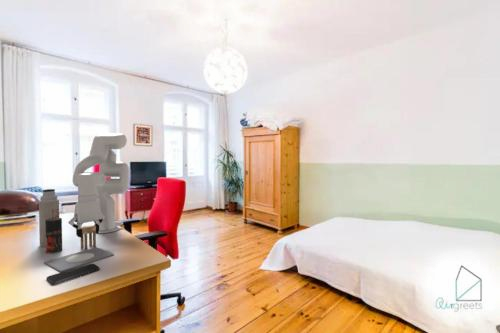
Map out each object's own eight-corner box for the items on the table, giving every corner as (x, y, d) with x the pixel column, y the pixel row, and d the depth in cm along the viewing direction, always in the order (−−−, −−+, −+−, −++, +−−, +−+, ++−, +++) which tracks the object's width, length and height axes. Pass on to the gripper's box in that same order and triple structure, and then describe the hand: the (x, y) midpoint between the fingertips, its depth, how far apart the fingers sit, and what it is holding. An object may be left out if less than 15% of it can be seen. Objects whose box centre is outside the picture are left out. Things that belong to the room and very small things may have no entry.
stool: (92, 244, 124) (91, 224, 123) (98, 246, 120) (98, 226, 120) (77, 248, 118) (77, 227, 118) (84, 250, 115) (83, 229, 115)
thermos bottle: (63, 242, 127) (62, 188, 127) (48, 247, 119) (47, 190, 119) (51, 241, 129) (50, 188, 128) (35, 246, 121) (34, 190, 120)
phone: (100, 268, 94) (52, 283, 82) (100, 271, 94) (52, 286, 82) (92, 263, 99) (45, 276, 87) (92, 265, 99) (45, 279, 87)
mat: (95, 248, 117) (95, 247, 117) (113, 255, 109) (113, 253, 109) (44, 263, 100) (44, 261, 100) (60, 272, 92) (60, 270, 92)
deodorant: (65, 249, 116) (64, 218, 116) (51, 254, 110) (51, 221, 110) (56, 248, 118) (56, 217, 118) (43, 252, 112) (42, 220, 112)
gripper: (102, 195, 128) (102, 229, 128) (63, 200, 113) (63, 238, 114) (109, 197, 124) (110, 231, 124) (70, 201, 109) (71, 241, 110)
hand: (88, 234), depth 119 cm, fingers open, 6 cm apart
